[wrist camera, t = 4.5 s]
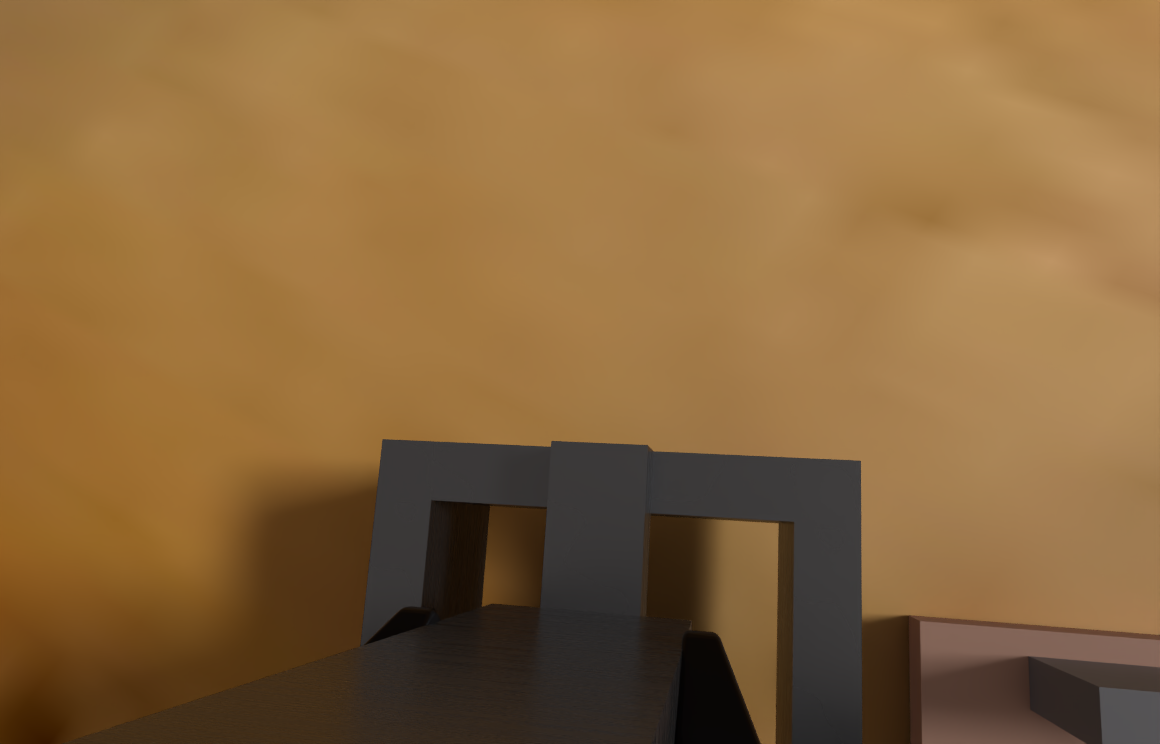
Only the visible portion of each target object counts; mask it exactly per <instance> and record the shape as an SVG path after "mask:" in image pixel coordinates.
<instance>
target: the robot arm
mask: <svg viewBox="0 0 1160 744" xmlns="http://www.w3.org/2000/svg"><path fill="white" fill-rule="evenodd" d="M439 621H440V617H439V615H438V612H437V611H436V610H435V609H433V608H425V607H414V606H408V607H404V608H402V609H401V610H399V611H398V612H397V613H396V614H395V615H394V616H393V617H392V618H391V619H390V620H389V621H388V622H387V623H386V624H385V625H384V626H383V627H382V628H381V629H380V630H378V631H377V632H376V633H375V634H374V635H373V636H372V637H371V638H370V639H369V640H368V641H367V642H366V643H365V644H364V645H367V644H370V643H373V642H376V641H379V640H382V639H385V638H388V637H391V636H394V635H397V634H400V633H403V632H407V631H410V630H413V629H416V628H419V627H422V626H426V625H430V624H433V623H436V622H439ZM364 645H363V646H364ZM681 649H682V660H681V672H680V684H679V695H678V707H677V719H676V731H675V744H761V743H760V741H759V738H758V736H757V733H756V730H755V728H754V725H753V722H752V720H751V717H750V715H749V712H748V709H747V707H746V704H745V702H744V699H743V696H742V694H741V691H740V689H739V686H738V683H737V681H736V678H735V676H734V673H733V670H732V668H731V665H730V662H729V660H728V657H727V655H726V652H725V649H724V647H723V644H722V642H721V639H720V638H719V636H718V635H717V634H716V633H714V632H704V631H693V630H688V631H686V632H684V634H683V636H682V644H681Z"/></svg>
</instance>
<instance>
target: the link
mask: <svg viewBox="0 0 1160 744" xmlns="http://www.w3.org/2000/svg"><path fill="white" fill-rule="evenodd" d="M490 506H500V507H516V508H533V509H547V516H546V530H545V545H544V560H543V575H542V589H541V604H540V608H538V607H526V606H514V605H502V604H489V605H486V606H483V607H482V597H483V584H484V572H485V560H486V547H487V535H488V523H489V510H490ZM651 516H666V517H683V518H700V519H716V520H733V521H750V522H766V523H779V537H778V609H777V682H776V744H862V600H861V461H853V460H831V459H809V458H786V457H764V456H742V455H720V454H698V453H675V452H653V450H652V449H651V448H650V447H649V446H648V445H630V444H607V443H584V442H561V441H552V442H551V447H542V446H520V445H498V444H475V443H453V442H431V441H409V440H386V439H383V441H382V450H381V460H380V469H379V478H378V487H377V497H376V506H375V515H374V525H373V534H372V543H371V552H370V562H369V571H368V580H367V590H366V599H365V608H364V617H363V627H362V636H361V645H360V647H357V648H354V649H351V650H348V651H345V652H342V653H339V654H336V655H333V656H330V657H327V658H324V659H321V660H318V661H314V662H311V663H308V664H305V665H302V666H299V667H296V668H293V669H290V670H287V671H284V672H281V673H278V674H275V675H272V676H268V677H265V678H262V679H259V680H256V681H253V682H250V683H247V684H244V685H241V686H238V687H235V688H232V689H229V690H225V691H222V692H219V693H216V694H213V695H210V696H207V697H204V698H201V699H198V700H195V701H192V702H189V703H186V704H183V705H179V706H176V707H173V708H170V709H167V710H164V711H161V712H158V713H155V714H152V715H149V716H146V717H143V718H140V719H137V720H133V721H130V722H127V723H124V724H121V725H118V726H115V727H112V728H109V729H106V730H103V731H100V732H97V733H94V734H90V735H87V736H84V737H81V738H78V739H75V740H72V741H69V742H66V743H63V744H675V731H676V719H677V707H678V695H679V684H680V672H681V660H682V649H681V644H682V636H683V634H684V632H686V631H688V630H692V620H682V619H670V618H658V617H646V611H647V588H648V565H649V542H650V519H651ZM408 606H414V607H425V608H433V609H435V610H436V611H437V612H438V615H439V617H440V621H439V622H436V623H433V624H430V625H426V626H422V627H419V628H416V629H413V630H410V631H407V632H403V633H400V634H397V635H394V636H391V637H388V638H385V639H382V640H379V641H376V642H373V643H370V644H367V645H364V644H365V643H366V642H367V641H368V640H369V639H370V638H371V637H372V636H373V635H374V634H375V633H376V632H377V631H378V630H380V629H381V628H382V627H383V626H384V625H385V624H386V623H387V622H388V621H389V620H390V619H391V618H392V617H393V616H394V615H395V614H396V613H397V612H398V611H399V610H401V609H402V608H404V607H408ZM363 645H364V646H363Z"/></svg>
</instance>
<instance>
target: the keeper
mask: <svg viewBox="0 0 1160 744" xmlns="http://www.w3.org/2000/svg"><path fill="white" fill-rule="evenodd" d="M909 672H910V744H1160V635H1151V634H1138V633H1125V632H1113V631H1100V630H1087V629H1075V628H1062V627H1049V626H1037V625H1024V624H1011V623H998V622H986V621H973V620H960V619H948V618H935V617H922V616H910V615H909Z"/></svg>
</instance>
